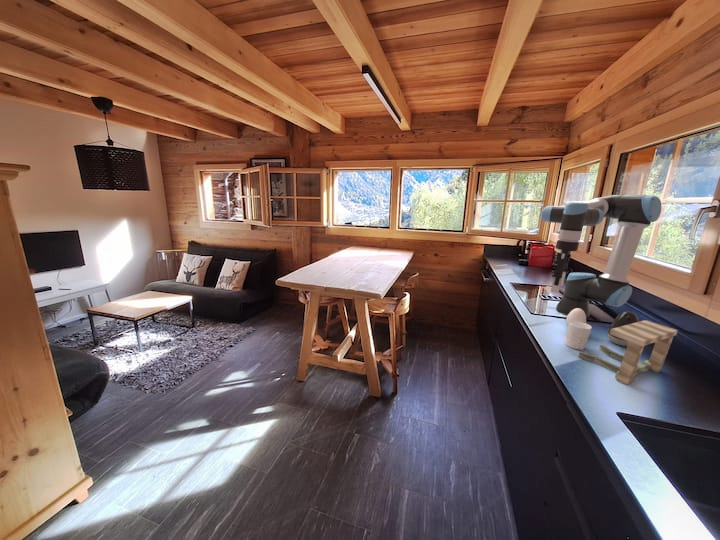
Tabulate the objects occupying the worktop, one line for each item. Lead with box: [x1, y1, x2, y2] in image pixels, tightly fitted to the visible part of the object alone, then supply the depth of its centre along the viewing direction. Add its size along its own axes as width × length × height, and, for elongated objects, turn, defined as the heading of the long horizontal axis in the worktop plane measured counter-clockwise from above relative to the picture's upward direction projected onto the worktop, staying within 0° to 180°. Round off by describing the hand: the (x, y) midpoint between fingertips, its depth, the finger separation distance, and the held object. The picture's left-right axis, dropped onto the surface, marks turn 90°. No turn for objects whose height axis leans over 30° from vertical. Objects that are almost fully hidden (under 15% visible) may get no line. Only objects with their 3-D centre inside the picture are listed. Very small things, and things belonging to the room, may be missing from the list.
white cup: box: [564, 321, 593, 351], centre depth 121 cm, size 8×8×10 cm
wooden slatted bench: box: [578, 319, 679, 386], centre depth 107 cm, size 24×18×17 cm
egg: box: [565, 308, 587, 328], centre depth 135 cm, size 7×7×12 cm
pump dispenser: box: [607, 310, 640, 347], centre depth 124 cm, size 10×10×15 cm
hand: (556, 288), depth 124 cm, fingers open, 13 cm apart
